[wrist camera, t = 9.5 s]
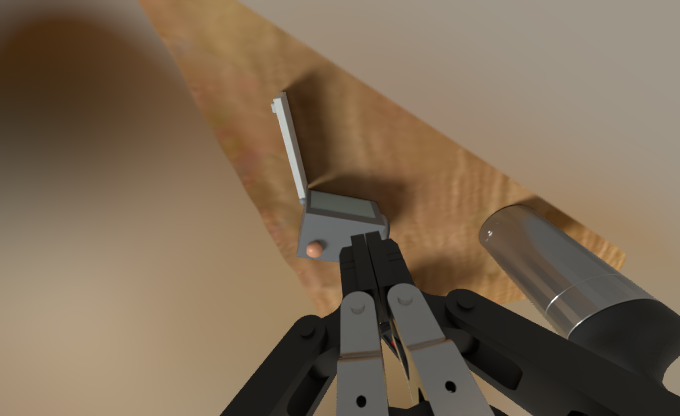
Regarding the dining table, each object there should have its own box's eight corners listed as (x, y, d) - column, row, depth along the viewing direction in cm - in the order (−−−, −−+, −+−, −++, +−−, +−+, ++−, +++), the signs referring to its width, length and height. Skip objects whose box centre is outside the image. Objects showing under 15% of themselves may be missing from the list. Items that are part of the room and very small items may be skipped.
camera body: (385, 202, 36) (398, 230, 30) (370, 240, 40) (380, 271, 34) (307, 188, 34) (305, 215, 28) (299, 229, 37) (296, 261, 32)
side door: (275, 93, 27) (268, 100, 23) (286, 91, 27) (281, 98, 23) (299, 187, 34) (297, 205, 30) (308, 186, 34) (307, 204, 30)
